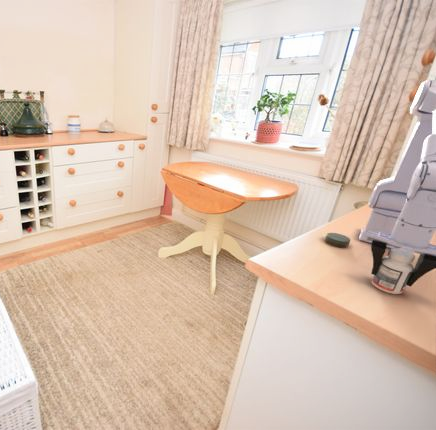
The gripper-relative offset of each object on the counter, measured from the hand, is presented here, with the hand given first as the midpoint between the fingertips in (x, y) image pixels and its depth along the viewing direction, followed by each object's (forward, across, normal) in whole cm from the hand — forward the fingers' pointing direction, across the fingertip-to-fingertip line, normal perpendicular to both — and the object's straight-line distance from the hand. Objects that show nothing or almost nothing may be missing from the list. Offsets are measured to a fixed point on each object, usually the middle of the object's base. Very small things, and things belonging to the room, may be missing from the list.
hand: (390, 278), depth 64 cm
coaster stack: (+2, -12, +17) cm, 21 cm away
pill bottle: (+3, 0, 0) cm, 3 cm away
